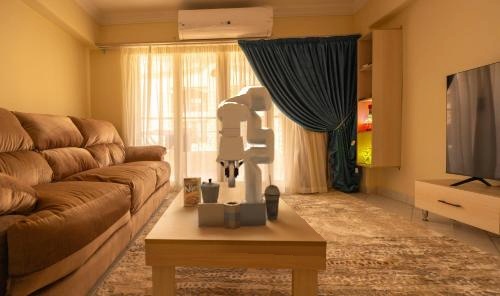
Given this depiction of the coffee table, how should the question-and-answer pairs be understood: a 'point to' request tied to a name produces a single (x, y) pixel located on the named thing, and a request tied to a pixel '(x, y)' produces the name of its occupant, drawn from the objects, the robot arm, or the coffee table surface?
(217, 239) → the coffee table surface
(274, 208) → the beverage cup
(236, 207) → the hinge
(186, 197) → the candy box
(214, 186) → the coffeepot
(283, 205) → the coffee table surface
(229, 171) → the steel pin
